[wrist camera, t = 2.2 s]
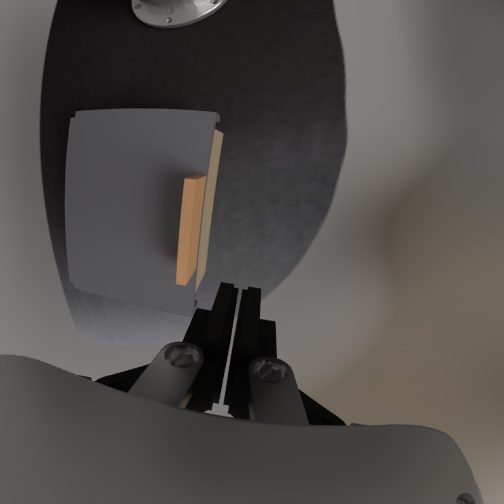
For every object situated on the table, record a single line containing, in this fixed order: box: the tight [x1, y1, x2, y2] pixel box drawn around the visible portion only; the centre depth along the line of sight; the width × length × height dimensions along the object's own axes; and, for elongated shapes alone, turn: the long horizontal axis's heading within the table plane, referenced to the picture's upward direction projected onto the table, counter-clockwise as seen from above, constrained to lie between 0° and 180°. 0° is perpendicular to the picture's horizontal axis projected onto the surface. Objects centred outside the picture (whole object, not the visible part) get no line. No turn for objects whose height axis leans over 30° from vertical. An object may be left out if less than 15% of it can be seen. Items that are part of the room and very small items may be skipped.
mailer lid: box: [65, 109, 220, 317], centre depth 22 cm, size 18×14×6 cm
